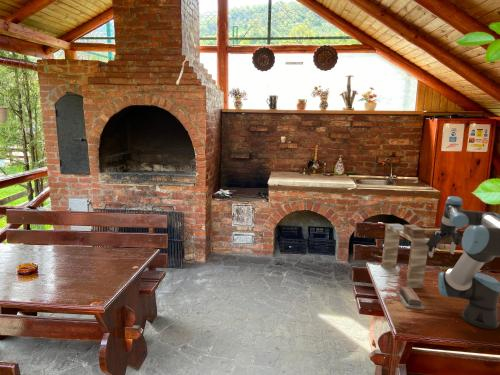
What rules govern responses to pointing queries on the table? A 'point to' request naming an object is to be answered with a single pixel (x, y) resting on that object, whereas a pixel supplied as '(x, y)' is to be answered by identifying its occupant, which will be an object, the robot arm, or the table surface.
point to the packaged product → (409, 298)
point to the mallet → (417, 231)
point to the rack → (416, 254)
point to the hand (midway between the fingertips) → (440, 254)
